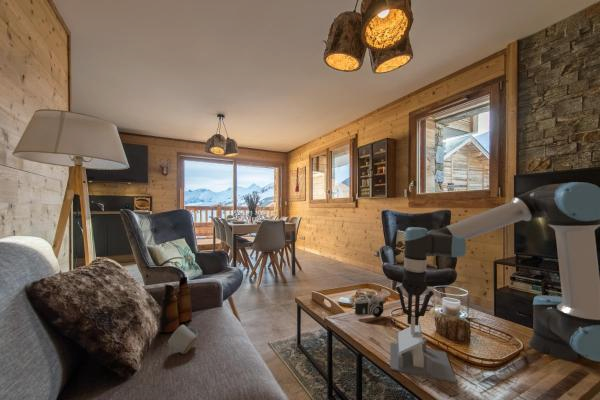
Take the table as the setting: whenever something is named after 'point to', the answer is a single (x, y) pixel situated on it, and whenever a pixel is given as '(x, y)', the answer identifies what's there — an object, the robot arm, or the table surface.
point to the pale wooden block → (417, 356)
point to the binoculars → (175, 307)
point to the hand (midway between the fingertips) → (412, 332)
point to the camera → (369, 306)
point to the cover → (410, 339)
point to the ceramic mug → (183, 339)
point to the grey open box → (433, 363)
